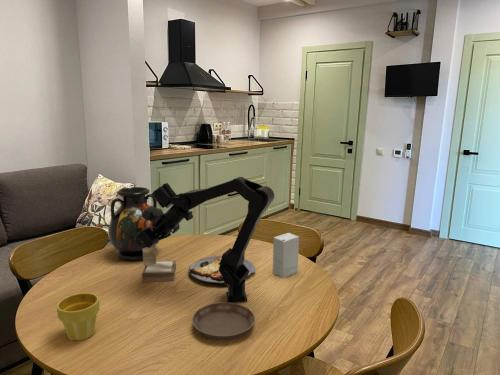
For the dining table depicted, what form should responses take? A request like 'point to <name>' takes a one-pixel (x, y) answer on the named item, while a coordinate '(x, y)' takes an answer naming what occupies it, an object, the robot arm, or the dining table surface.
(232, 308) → the plant saucer
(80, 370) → the dining table surface
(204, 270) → the food plate
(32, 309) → the dining table surface
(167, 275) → the plinth
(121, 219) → the amphora vase
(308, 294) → the dining table surface
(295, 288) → the dining table surface
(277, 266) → the skincare box
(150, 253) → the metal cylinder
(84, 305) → the plant pot
